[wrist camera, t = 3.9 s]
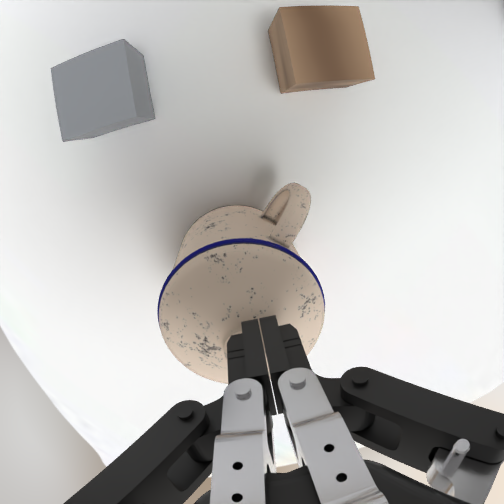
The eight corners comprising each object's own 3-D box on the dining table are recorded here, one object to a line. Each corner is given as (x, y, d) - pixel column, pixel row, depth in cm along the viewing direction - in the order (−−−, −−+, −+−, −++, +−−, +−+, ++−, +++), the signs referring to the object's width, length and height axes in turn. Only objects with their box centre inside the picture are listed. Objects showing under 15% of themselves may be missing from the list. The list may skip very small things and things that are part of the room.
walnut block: (333, 27, 19) (358, 6, 14) (345, 87, 21) (375, 79, 16) (267, 30, 19) (279, 7, 14) (280, 93, 21) (295, 84, 16)
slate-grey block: (143, 55, 19) (123, 38, 14) (155, 118, 21) (137, 116, 16) (82, 77, 19) (51, 68, 14) (93, 137, 21) (62, 141, 16)
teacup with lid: (257, 325, 27) (277, 433, 16) (159, 281, 25) (123, 383, 14) (335, 203, 24) (415, 264, 13) (230, 143, 22) (235, 155, 11)
